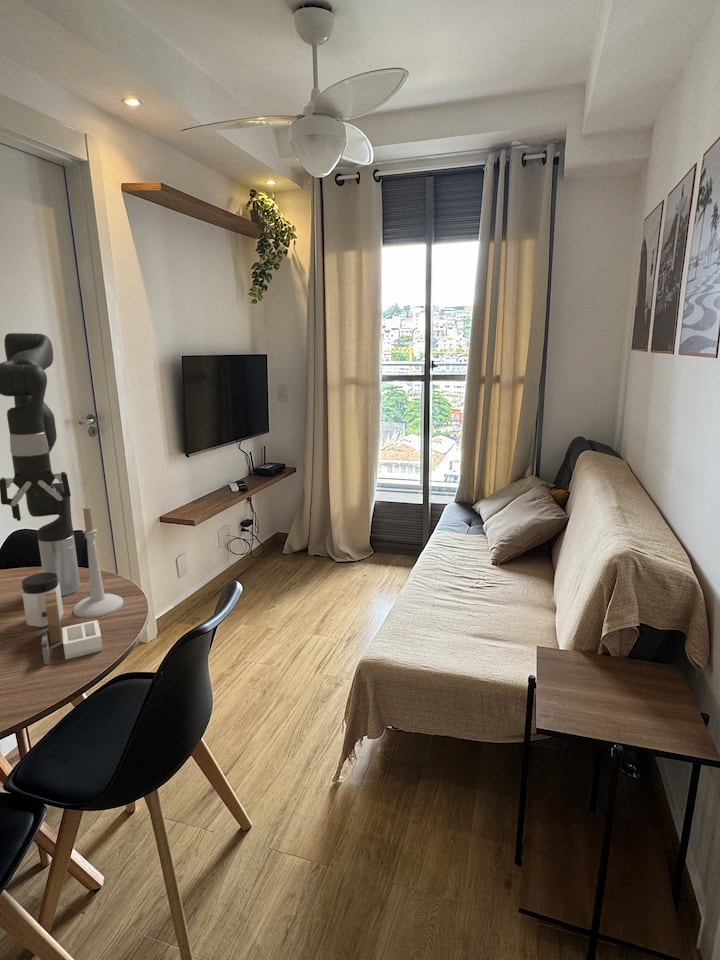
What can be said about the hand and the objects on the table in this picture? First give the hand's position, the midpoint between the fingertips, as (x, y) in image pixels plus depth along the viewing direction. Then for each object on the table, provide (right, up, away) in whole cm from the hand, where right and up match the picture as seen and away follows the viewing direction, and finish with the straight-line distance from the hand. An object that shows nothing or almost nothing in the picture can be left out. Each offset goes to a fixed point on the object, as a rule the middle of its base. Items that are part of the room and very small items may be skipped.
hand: (39, 517), depth 128 cm
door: (0, -31, +8) cm, 32 cm away
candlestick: (+3, -27, +23) cm, 36 cm away
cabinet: (+7, -32, +1) cm, 33 cm away
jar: (-8, -29, +15) cm, 34 cm away
